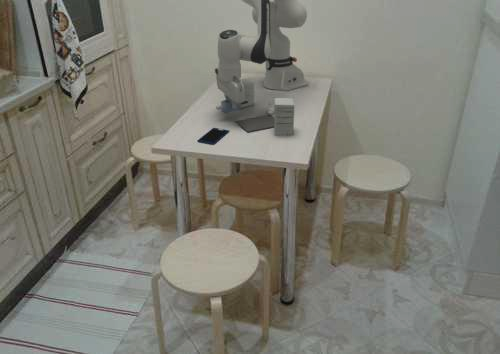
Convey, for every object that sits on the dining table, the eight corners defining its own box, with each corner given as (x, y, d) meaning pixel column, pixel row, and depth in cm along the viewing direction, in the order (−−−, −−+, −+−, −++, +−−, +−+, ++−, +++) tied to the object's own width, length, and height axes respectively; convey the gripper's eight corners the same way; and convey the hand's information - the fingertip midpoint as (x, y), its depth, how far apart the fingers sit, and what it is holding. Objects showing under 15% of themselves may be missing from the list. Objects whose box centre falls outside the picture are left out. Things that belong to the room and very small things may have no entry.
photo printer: (250, 102, 214) (250, 75, 208) (255, 105, 211) (255, 78, 204) (231, 107, 209) (230, 79, 203) (236, 109, 206) (235, 82, 200)
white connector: (267, 108, 207) (267, 102, 205) (274, 108, 206) (274, 102, 205) (266, 117, 198) (266, 110, 197) (274, 117, 198) (274, 110, 197)
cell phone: (230, 132, 186) (230, 130, 186) (213, 146, 175) (213, 144, 175) (213, 129, 189) (213, 127, 188) (196, 142, 178) (196, 141, 177)
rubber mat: (269, 115, 200) (269, 114, 199) (283, 125, 190) (283, 124, 190) (234, 122, 194) (234, 120, 193) (247, 132, 184) (247, 131, 184)
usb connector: (245, 105, 200) (245, 96, 198) (249, 108, 197) (249, 99, 195) (215, 111, 195) (214, 102, 193) (218, 114, 192) (218, 105, 190)
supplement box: (273, 128, 188) (274, 97, 182) (292, 128, 188) (293, 97, 182) (274, 135, 182) (274, 104, 176) (293, 135, 182) (294, 104, 176)
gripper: (248, 79, 181) (249, 113, 188) (227, 65, 197) (228, 96, 204) (233, 82, 178) (234, 116, 186) (213, 67, 194) (214, 99, 201)
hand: (231, 106), depth 195 cm, fingers closed on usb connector, 4 cm apart
